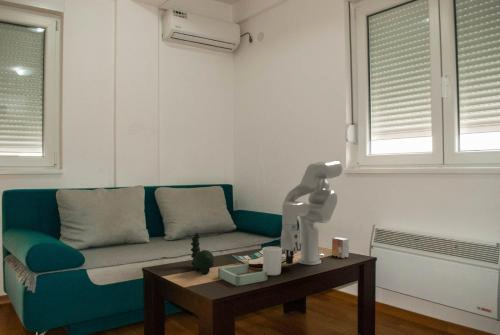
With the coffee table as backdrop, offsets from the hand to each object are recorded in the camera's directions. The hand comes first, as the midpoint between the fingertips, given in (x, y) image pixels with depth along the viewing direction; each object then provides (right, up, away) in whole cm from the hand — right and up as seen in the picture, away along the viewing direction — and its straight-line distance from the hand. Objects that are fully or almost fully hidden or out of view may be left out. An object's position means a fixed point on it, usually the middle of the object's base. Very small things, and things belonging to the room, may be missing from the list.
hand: (289, 263), depth 196 cm
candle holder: (-9, -3, -6) cm, 11 cm away
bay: (-23, -3, -15) cm, 28 cm away
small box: (+33, -4, +30) cm, 45 cm away
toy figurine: (-44, -3, -2) cm, 44 cm away
